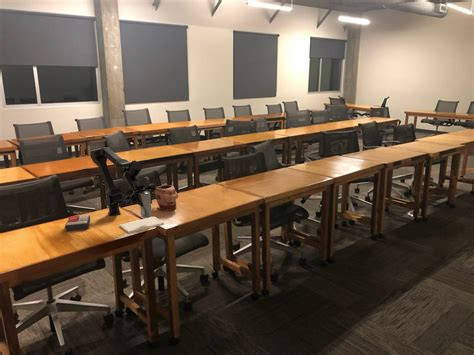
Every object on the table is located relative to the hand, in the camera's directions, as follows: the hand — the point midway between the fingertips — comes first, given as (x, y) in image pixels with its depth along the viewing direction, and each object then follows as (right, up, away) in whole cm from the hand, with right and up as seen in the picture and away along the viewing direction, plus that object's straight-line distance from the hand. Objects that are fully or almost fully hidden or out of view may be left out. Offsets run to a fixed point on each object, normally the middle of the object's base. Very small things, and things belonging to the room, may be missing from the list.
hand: (147, 204), depth 201 cm
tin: (-1, -6, +3) cm, 7 cm away
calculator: (-39, -12, +6) cm, 41 cm away
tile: (-4, -11, +5) cm, 13 cm away
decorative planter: (+4, -4, +32) cm, 32 cm away
